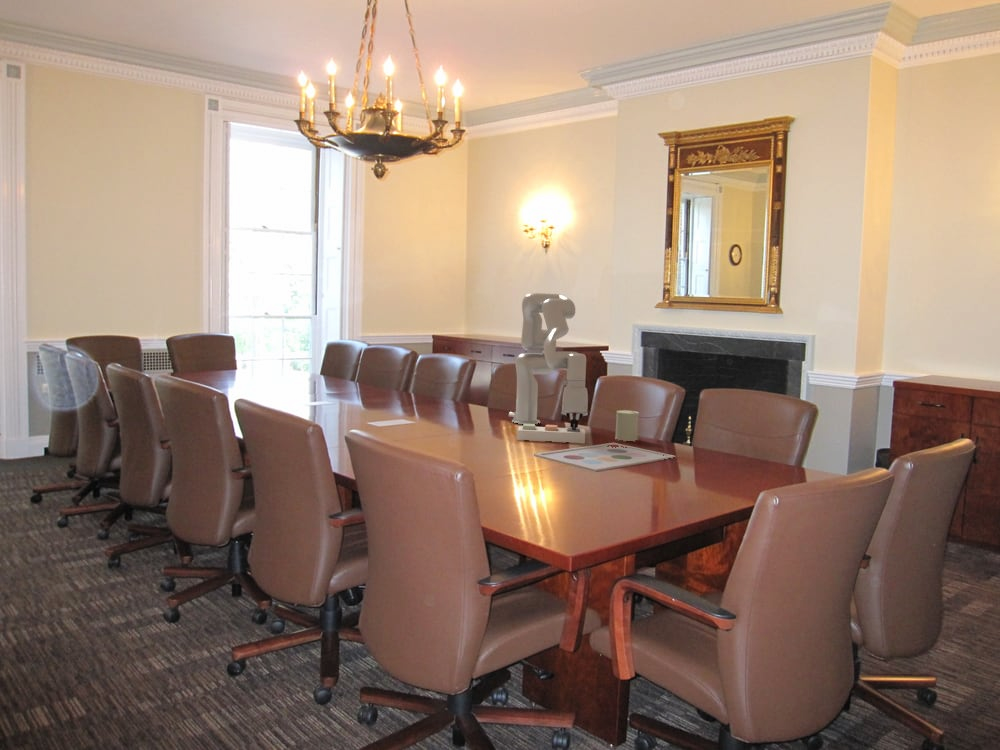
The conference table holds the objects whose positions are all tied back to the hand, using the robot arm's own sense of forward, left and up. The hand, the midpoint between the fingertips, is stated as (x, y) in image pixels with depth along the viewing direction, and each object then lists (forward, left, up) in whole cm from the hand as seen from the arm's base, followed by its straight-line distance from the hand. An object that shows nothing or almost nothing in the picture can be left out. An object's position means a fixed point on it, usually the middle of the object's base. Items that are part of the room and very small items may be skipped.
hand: (573, 429), depth 338 cm
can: (+16, +17, -5) cm, 24 cm away
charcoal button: (0, 0, -3) cm, 4 cm away
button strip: (-8, -4, -5) cm, 10 cm away
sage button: (-16, -8, -3) cm, 18 cm away
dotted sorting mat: (+24, -22, -5) cm, 33 cm away
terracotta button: (-8, -4, -3) cm, 9 cm away
